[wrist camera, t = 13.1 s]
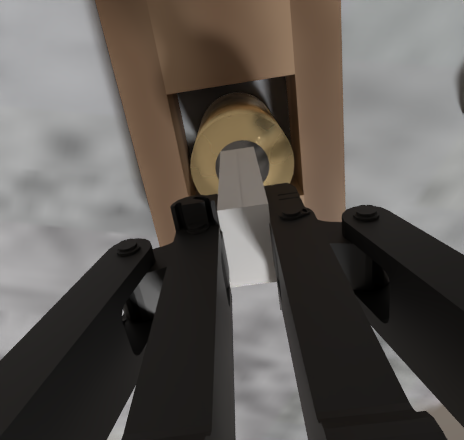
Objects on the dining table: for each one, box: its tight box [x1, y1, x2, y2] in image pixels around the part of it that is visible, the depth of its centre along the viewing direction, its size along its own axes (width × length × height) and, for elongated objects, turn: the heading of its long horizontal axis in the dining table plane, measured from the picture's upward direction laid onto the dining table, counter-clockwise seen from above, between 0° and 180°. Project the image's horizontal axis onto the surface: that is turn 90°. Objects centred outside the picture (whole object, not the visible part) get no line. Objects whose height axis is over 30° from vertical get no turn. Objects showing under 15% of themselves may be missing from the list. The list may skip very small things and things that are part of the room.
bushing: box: [190, 92, 294, 195], centre depth 22 cm, size 5×5×8 cm
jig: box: [95, 0, 345, 247], centre depth 22 cm, size 12×22×4 cm, turn 8°
